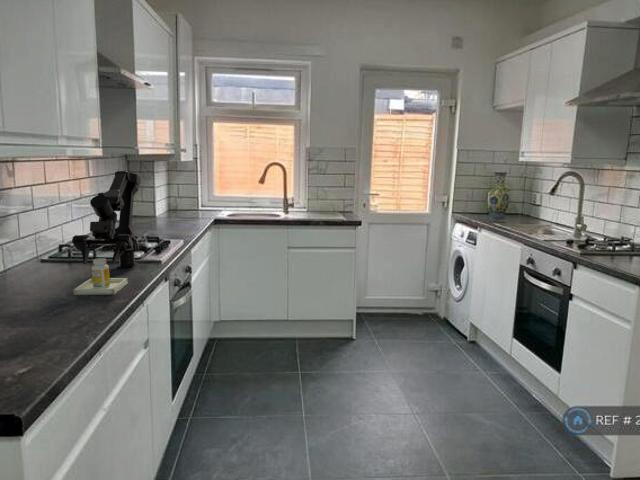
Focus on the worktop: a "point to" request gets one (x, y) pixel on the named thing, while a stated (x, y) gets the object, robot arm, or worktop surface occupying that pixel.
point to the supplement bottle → (100, 274)
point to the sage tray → (112, 289)
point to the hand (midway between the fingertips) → (98, 263)
